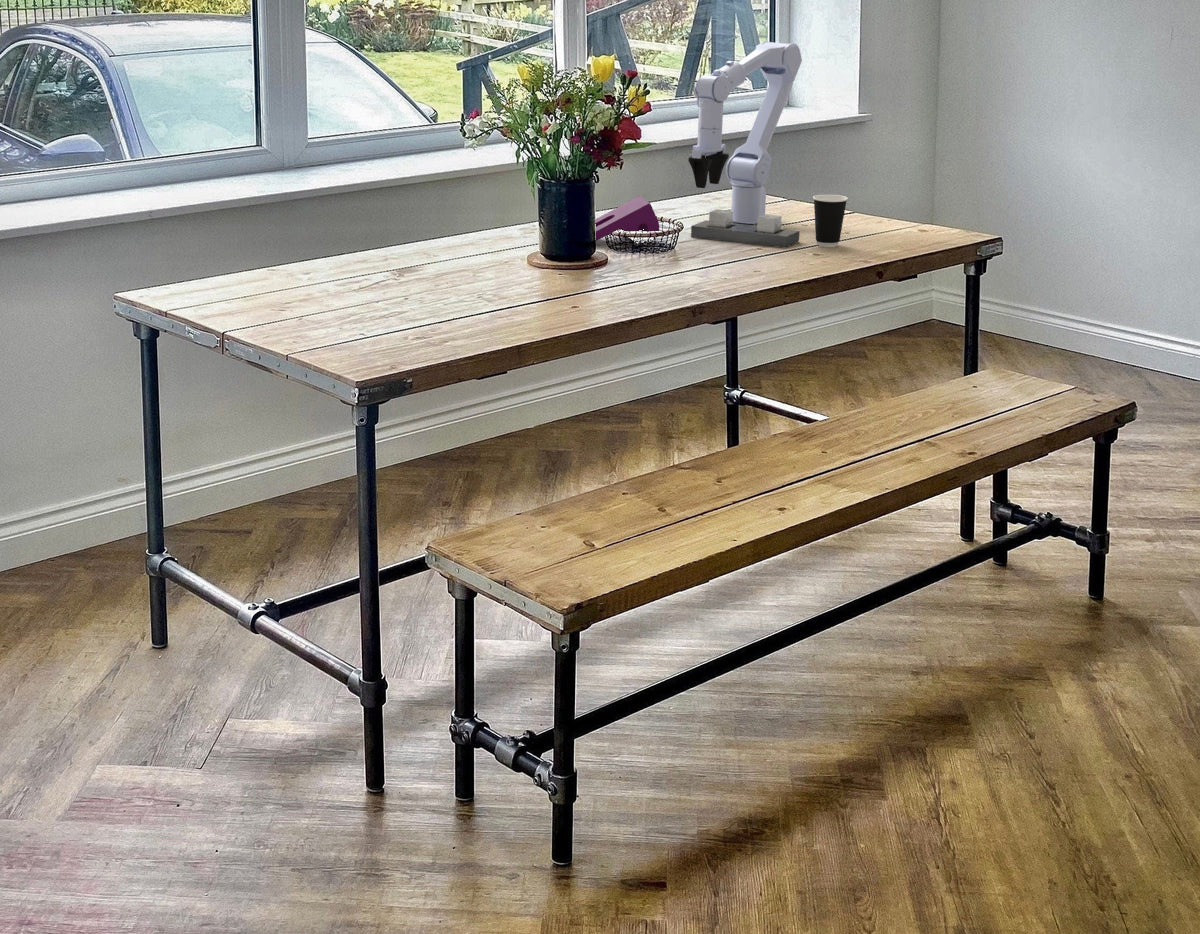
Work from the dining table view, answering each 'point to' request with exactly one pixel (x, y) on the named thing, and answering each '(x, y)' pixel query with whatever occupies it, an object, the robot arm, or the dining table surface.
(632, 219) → the mounting bracket
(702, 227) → the rail
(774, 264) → the dining table surface
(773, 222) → the off-white rectangular block
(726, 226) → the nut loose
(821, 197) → the dixie cup
